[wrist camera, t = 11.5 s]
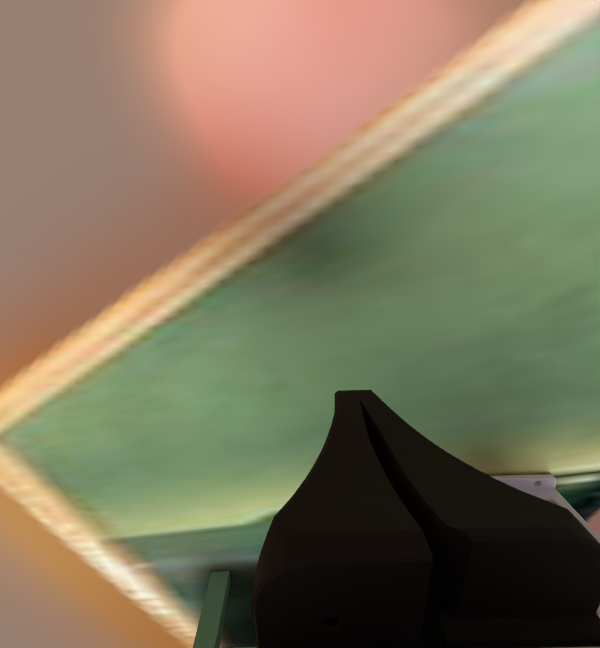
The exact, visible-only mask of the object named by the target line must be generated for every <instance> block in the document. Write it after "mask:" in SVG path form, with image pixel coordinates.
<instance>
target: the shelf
mask: <svg viewBox="0 0 600 648" xmlns="http://www.w3.org/2000/svg"><path fill="white" fill-rule="evenodd" d="M230 586H231V580H230V573H229V571H211V575H210V579H209V583H208V587H207V591H206V596H205V600H204V604H203V608H202V612H201V616H200V620H199V624H198V628H197V632H196V637H195V641H194V645H193V648H219V646H220V640H221V635H222V629H223V624H224V618H225V613H226V607H227V602H228V596H229V591H230ZM235 648H257V647H235Z"/></svg>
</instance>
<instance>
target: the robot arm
mask: <svg viewBox="0 0 600 648" xmlns="http://www.w3.org/2000/svg"><path fill="white" fill-rule="evenodd" d="M556 484H557V480H556V478H555V477H554V476H552V475H549V474H548V475H505V476H489V475H487V474H485V473H483V472H481V471H479V470H477V469H475V468H473V467H472V466H470V465H468V464H466V463H464V462H462V461H461V460H459V459H457V458H456V457H454V456H452V455H451V454H449V453H447V452H446V451H444V450H443V449H441V448H440V447H438V446H437V445H435V444H434V443H432V442H431V441H429V440H428V439H427V438H425V437H424V436H423V435H421V434H420V433H419V432H417V431H416V430H415V429H414V428H412V427H411V426H410V425H409V424H407V423H406V422H405V421H404V420H403V419H401V418H400V417H399V416H398V415H397V414H396V413H395V412H393V411H392V410H391V409H390V408H389V407H388V406H387V405H386V404H385V403H384V402H383V401H382V400H381V399H380V398H379V397H378V396H377V395H376V394H375V393H373V392H372V391H371V390H349V391H337V392H336V393H335V413H334V417H333V421H332V425H331V428H330V431H329V434H328V436H327V439H326V442H325V444H324V446H323V448H322V450H321V453H320V455H319V457H318V458H317V460H316V462H315V464H314V466H313V467H312V469H311V471H310V472H309V474H308V475H307V477H306V478H305V480H304V481H303V483H302V484H301V485H300V487H299V488H298V489H297V491H296V492H295V494H294V495H293V496H292V497H291V499H290V500H289V501H288V502H287V503H286V504H285V505H284V506H283V508H282V509H281V510H280V511H279V512H278V513H277V514H276V515H275V516H274V518H273V521H272V523H271V526H270V528H269V531H268V533H267V536H266V539H265V541H264V544H263V547H262V550H261V553H260V557H259V561H258V565H257V569H256V574H255V582H254V592H253V603H252V611H253V619H254V628H255V636H256V645H257V648H600V537H599V536H598V535H597V533H596V532H595V531H594V530H593V529H592V528H591V527H590V526H589V525H588V524H587V523H586V522H585V521H584V519H583V518H582V517H581V516H580V515H579V514H578V513H577V512H576V511H575V510H574V509H573V508H572V507H571V505H570V504H569V503H568V502H567V501H566V500H565V499H564V498H563V497H562V496H561V495H560V494H559V493H558V491H557V490H556V489H555V487H556Z"/></svg>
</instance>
